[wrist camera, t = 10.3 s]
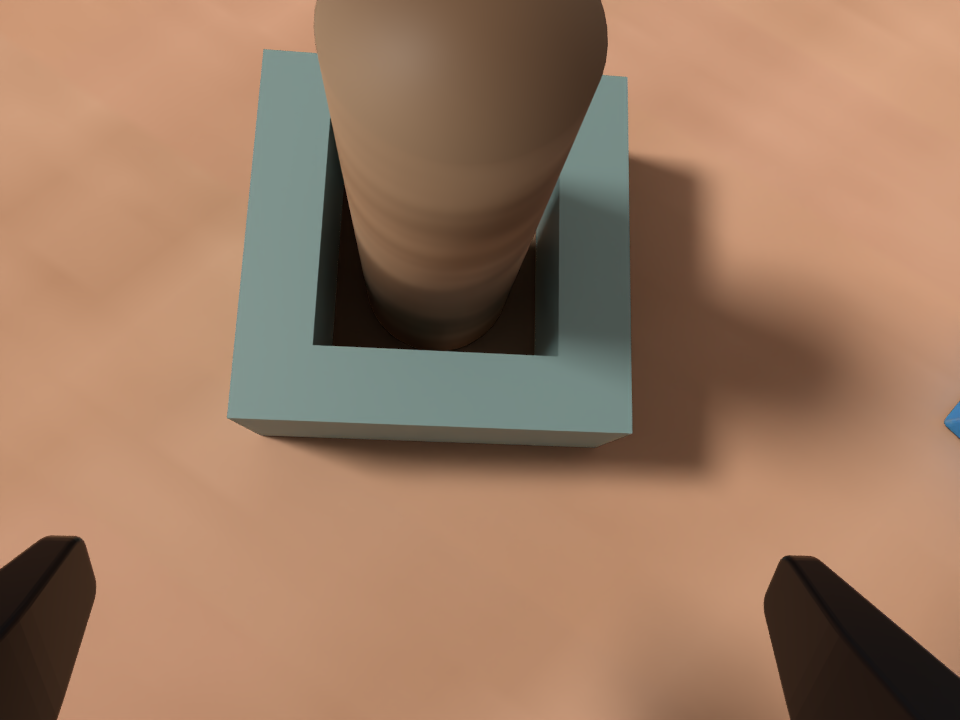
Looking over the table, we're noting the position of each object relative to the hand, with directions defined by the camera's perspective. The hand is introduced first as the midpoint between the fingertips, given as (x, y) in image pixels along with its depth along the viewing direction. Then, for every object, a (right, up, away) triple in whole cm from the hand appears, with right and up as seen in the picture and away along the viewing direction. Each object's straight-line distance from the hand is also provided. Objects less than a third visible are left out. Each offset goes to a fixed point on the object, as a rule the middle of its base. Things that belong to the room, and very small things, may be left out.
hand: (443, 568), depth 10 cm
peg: (-1, +5, +14) cm, 15 cm away
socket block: (-1, +5, +14) cm, 15 cm away
